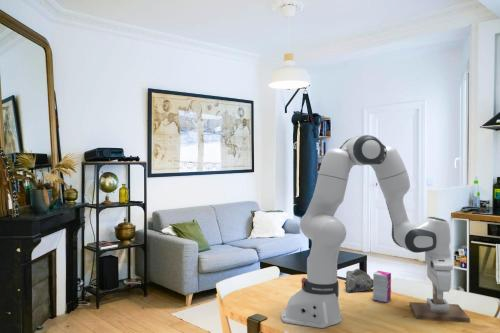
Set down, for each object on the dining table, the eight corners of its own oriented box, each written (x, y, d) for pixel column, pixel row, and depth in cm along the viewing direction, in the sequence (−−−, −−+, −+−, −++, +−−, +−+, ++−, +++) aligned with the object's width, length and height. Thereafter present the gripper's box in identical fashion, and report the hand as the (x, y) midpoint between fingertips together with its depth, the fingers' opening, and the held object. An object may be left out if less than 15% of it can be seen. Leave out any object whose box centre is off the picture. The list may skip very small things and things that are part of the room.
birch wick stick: (434, 308, 155) (434, 281, 155) (432, 305, 158) (432, 279, 158) (443, 308, 154) (443, 282, 154) (441, 305, 157) (441, 279, 157)
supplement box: (386, 303, 167) (386, 275, 167) (372, 300, 171) (372, 273, 171) (391, 299, 172) (391, 272, 172) (377, 296, 176) (377, 270, 175)
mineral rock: (377, 289, 185) (377, 267, 185) (371, 296, 176) (371, 273, 176) (349, 285, 192) (349, 264, 192) (342, 292, 183) (342, 269, 182)
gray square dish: (430, 312, 153) (430, 304, 153) (426, 305, 160) (426, 298, 160) (449, 313, 152) (449, 305, 152) (444, 306, 159) (444, 299, 159)
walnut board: (416, 318, 151) (416, 314, 151) (409, 305, 165) (409, 301, 165) (469, 322, 147) (469, 318, 147) (457, 308, 161) (457, 304, 161)
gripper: (422, 253, 167) (423, 287, 167) (435, 266, 146) (435, 304, 147) (439, 254, 165) (439, 288, 165) (454, 267, 145) (454, 305, 145)
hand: (437, 296), depth 156 cm, fingers closed on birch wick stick, 3 cm apart
